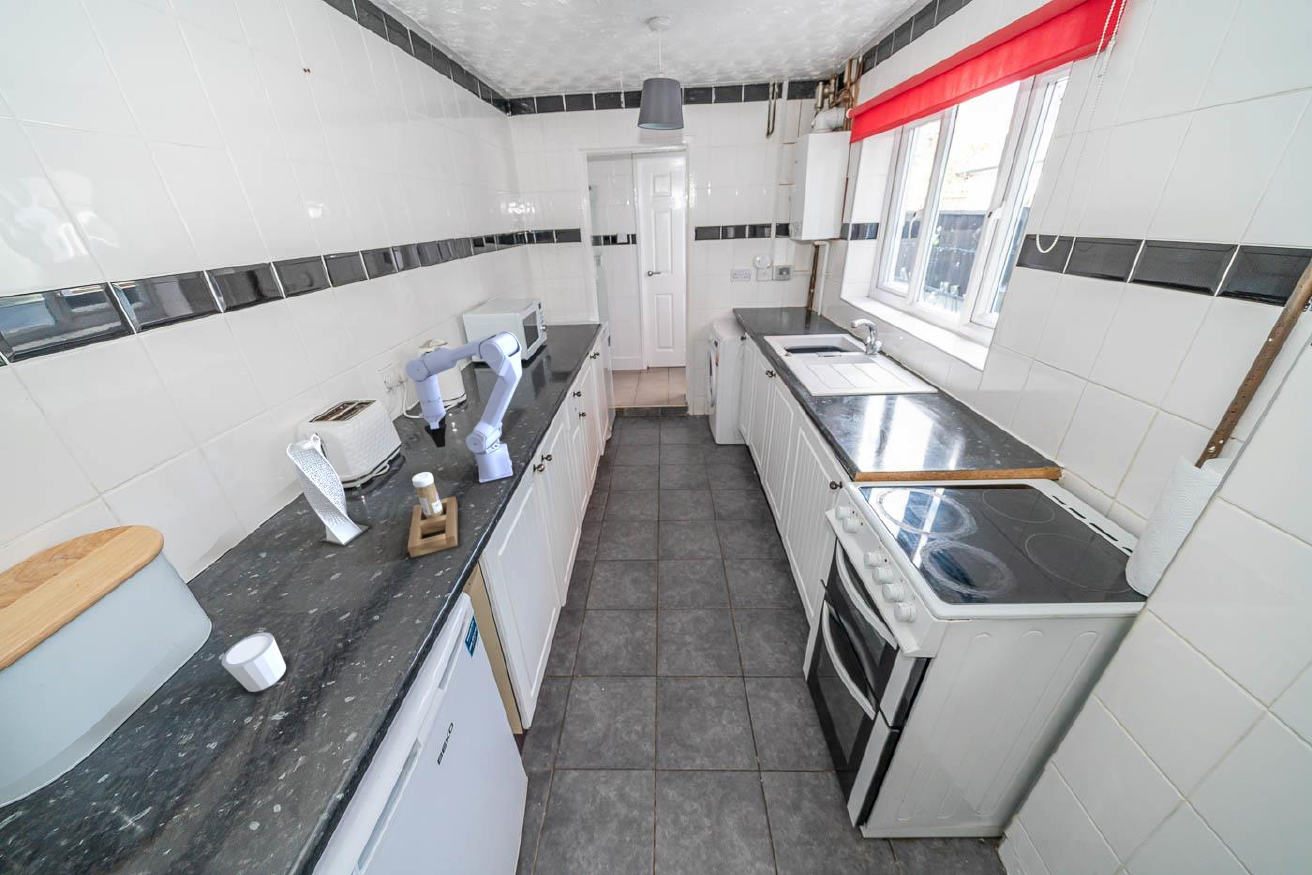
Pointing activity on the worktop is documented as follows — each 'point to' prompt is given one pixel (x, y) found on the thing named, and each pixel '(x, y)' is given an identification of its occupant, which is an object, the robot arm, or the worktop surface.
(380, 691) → the worktop surface
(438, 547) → the holder
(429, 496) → the sprinkles bottle
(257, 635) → the white faceted cup
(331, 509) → the skyscraper
